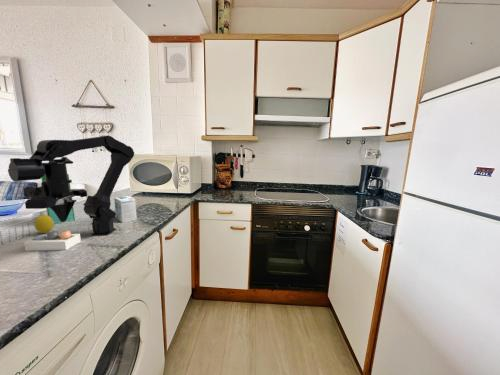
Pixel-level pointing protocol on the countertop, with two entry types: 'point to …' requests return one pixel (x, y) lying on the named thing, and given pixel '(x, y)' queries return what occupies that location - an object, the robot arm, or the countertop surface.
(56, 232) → the charcoal button
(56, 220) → the milk carton
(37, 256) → the countertop surface
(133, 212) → the light bulb box
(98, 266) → the countertop surface
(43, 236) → the slate button
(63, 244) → the frame
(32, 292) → the countertop surface
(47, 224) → the lemon
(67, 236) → the terracotta button
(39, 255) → the countertop surface
